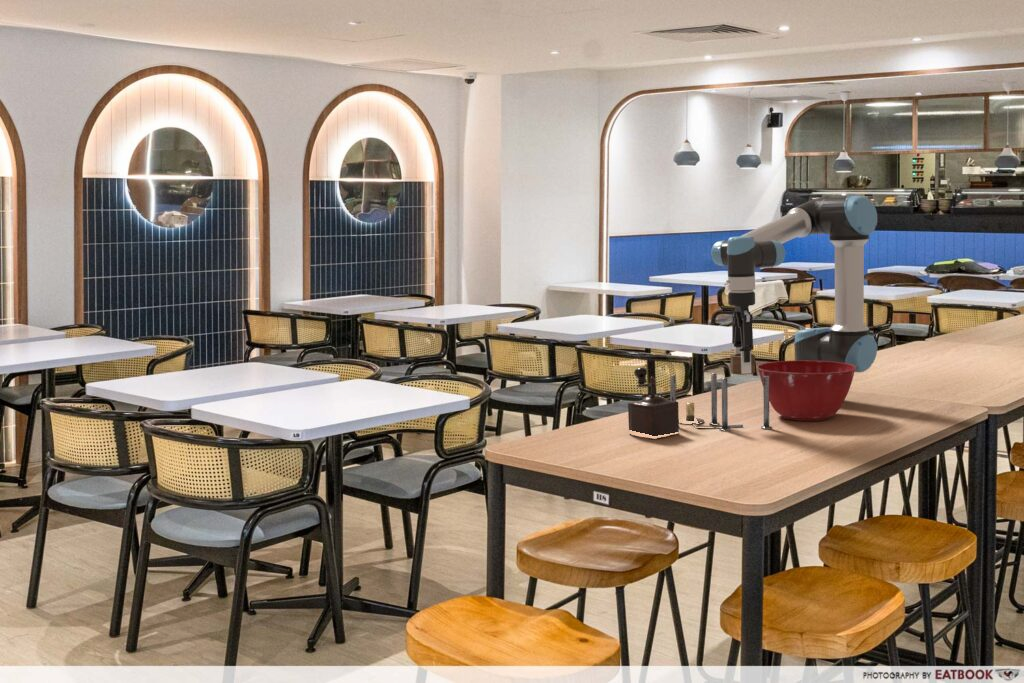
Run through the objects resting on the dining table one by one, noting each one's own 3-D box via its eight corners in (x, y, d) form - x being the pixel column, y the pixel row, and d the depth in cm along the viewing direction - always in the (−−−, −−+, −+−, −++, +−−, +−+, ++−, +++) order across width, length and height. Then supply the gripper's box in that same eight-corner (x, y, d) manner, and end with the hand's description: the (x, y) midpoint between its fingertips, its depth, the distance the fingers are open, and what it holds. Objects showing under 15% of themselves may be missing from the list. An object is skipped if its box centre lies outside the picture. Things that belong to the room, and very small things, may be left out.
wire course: (667, 425, 335) (666, 374, 333) (762, 421, 336) (761, 370, 334) (675, 433, 323) (674, 381, 322) (773, 429, 325) (773, 376, 323)
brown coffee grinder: (681, 434, 323) (680, 370, 320) (654, 440, 316) (653, 375, 313) (642, 426, 335) (640, 365, 332) (614, 432, 328) (613, 370, 325)
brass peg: (674, 420, 342) (674, 401, 342) (700, 419, 343) (700, 400, 342) (679, 425, 334) (679, 406, 334) (706, 424, 335) (706, 404, 334)
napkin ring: (729, 371, 331) (728, 354, 330) (751, 370, 331) (750, 353, 330) (734, 374, 324) (734, 357, 324) (757, 373, 325) (756, 356, 324)
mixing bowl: (769, 406, 360) (769, 357, 358) (863, 411, 347) (863, 360, 345) (746, 423, 335) (746, 370, 333) (846, 429, 322) (847, 374, 320)
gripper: (720, 288, 334) (721, 367, 337) (737, 295, 315) (738, 377, 318) (745, 287, 334) (747, 365, 337) (764, 293, 315) (765, 376, 318)
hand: (743, 371), depth 328 cm, fingers closed on napkin ring, 6 cm apart
